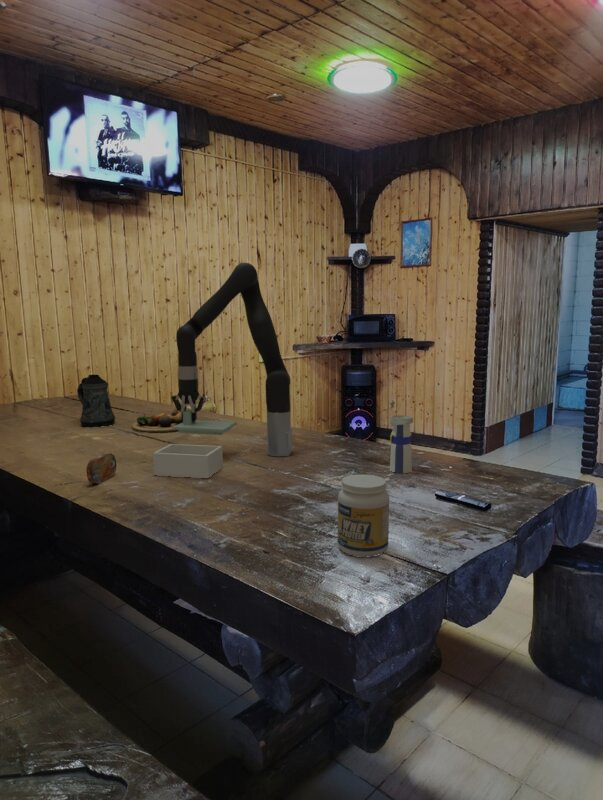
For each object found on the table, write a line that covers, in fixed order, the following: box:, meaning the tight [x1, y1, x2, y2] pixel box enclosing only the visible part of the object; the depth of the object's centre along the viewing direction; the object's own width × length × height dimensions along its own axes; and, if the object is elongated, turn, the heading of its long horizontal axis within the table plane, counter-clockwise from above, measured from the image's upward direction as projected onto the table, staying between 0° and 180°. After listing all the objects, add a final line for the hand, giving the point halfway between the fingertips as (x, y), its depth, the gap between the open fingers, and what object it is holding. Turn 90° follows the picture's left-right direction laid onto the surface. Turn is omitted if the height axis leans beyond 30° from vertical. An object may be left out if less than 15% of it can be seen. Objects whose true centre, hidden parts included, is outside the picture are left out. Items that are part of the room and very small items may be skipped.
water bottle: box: [389, 399, 414, 474], centre depth 200 cm, size 8×9×25 cm
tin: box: [85, 452, 117, 485], centre depth 194 cm, size 15×3×8 cm, turn 168°
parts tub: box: [152, 443, 224, 479], centre depth 203 cm, size 20×14×8 cm
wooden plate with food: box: [131, 408, 183, 434], centre depth 282 cm, size 32×32×8 cm
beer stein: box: [76, 374, 116, 428], centre depth 286 cm, size 16×19×25 cm
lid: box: [173, 409, 237, 436], centre depth 222 cm, size 20×14×8 cm
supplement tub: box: [336, 473, 390, 558], centre depth 136 cm, size 12×12×17 cm
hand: (189, 421), depth 223 cm, fingers closed on lid, 3 cm apart
